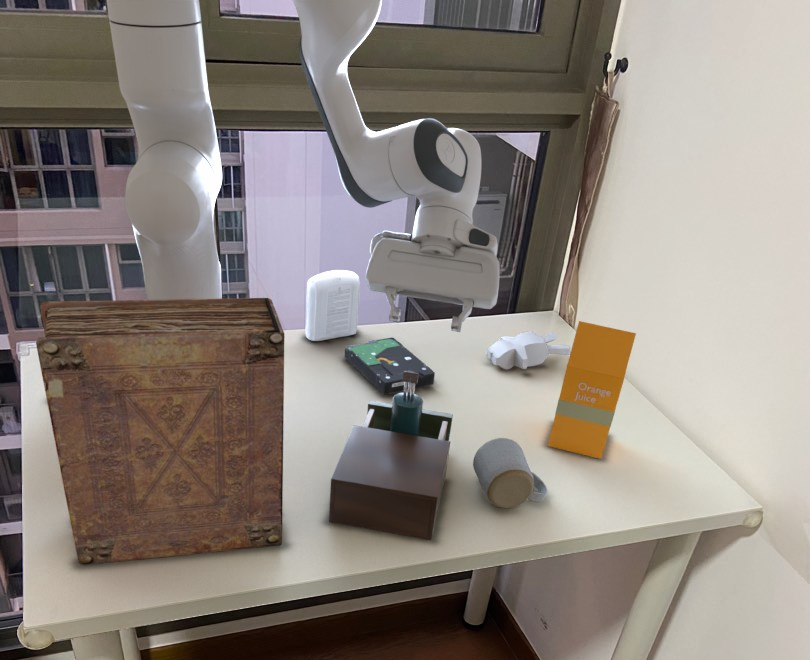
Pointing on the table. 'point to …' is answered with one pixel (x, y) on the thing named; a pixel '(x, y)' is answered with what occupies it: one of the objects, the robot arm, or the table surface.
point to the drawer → (430, 426)
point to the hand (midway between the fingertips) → (424, 325)
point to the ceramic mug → (506, 474)
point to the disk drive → (388, 364)
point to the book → (166, 423)
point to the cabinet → (389, 482)
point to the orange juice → (591, 389)
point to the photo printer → (332, 305)
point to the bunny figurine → (525, 350)
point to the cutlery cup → (407, 407)
